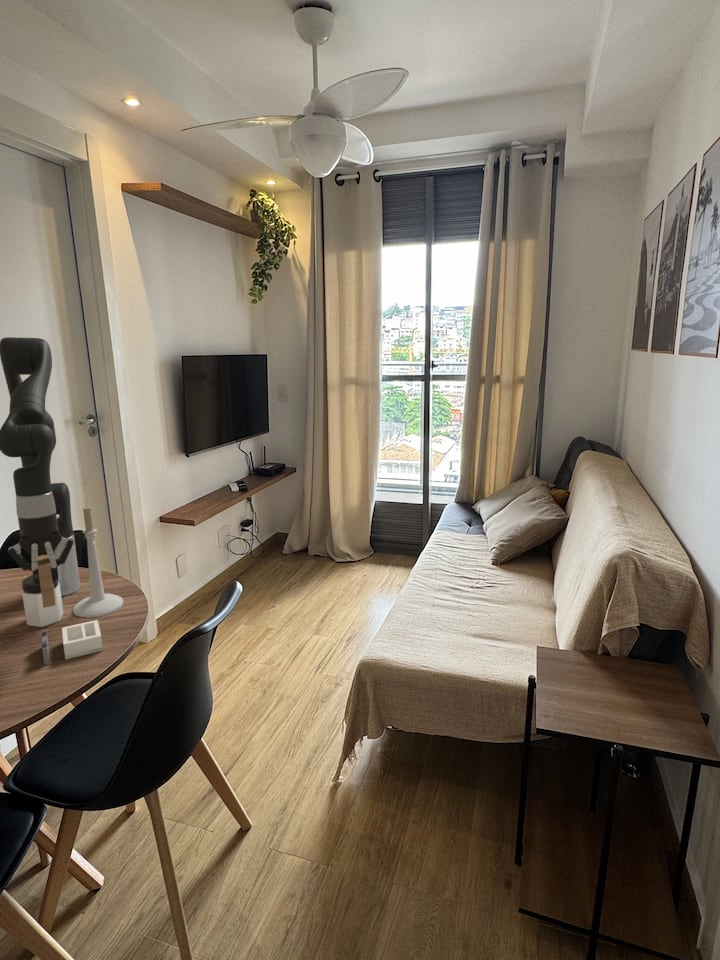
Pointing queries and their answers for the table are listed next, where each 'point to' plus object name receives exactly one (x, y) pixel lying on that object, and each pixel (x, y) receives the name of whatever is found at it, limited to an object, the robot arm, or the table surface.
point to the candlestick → (95, 580)
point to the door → (45, 581)
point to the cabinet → (76, 640)
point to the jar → (40, 604)
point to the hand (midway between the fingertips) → (46, 583)
